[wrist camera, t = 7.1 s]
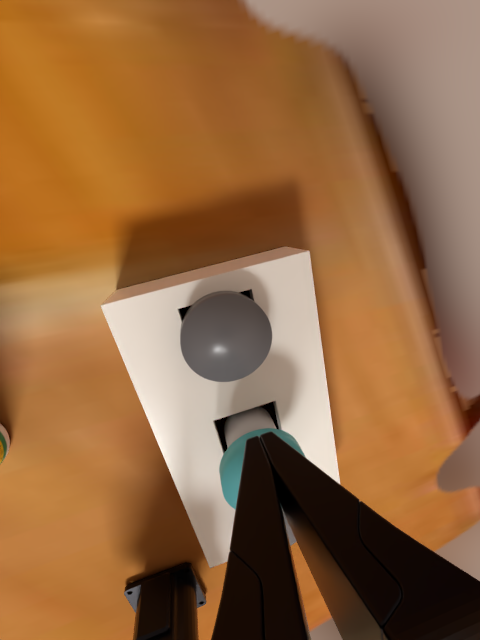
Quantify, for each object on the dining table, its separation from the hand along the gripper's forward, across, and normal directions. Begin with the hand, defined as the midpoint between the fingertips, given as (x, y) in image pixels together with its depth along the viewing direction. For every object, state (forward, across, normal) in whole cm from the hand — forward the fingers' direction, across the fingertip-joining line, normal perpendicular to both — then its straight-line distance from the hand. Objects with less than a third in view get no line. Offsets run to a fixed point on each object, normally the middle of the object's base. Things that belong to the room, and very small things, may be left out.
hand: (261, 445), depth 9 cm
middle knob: (+9, 0, +8) cm, 12 cm away
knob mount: (+13, 0, +8) cm, 15 cm away
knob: (+11, 0, 0) cm, 11 cm away
